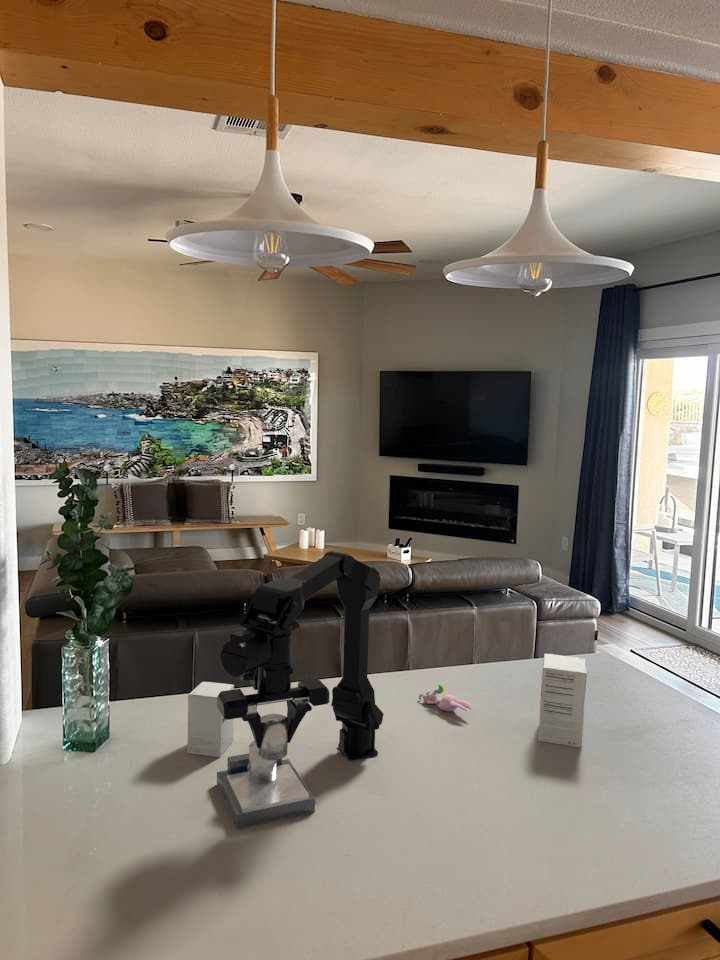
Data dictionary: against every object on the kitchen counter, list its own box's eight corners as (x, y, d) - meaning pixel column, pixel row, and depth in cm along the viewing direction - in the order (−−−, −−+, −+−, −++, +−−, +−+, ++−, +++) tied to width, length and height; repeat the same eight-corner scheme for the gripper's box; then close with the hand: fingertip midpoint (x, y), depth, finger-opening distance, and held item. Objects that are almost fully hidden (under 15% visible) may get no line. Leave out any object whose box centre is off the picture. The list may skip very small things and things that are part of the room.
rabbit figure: (414, 708, 174) (460, 720, 163) (412, 683, 174) (458, 694, 163) (432, 701, 178) (478, 713, 167) (430, 677, 178) (476, 687, 167)
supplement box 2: (539, 722, 165) (543, 652, 163) (581, 729, 163) (586, 657, 161) (537, 741, 156) (542, 666, 154) (582, 748, 153) (587, 672, 151)
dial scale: (288, 770, 140) (288, 746, 140) (314, 811, 127) (315, 785, 126) (216, 784, 135) (217, 758, 134) (236, 828, 121) (237, 800, 121)
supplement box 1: (220, 758, 144) (221, 698, 143) (186, 753, 146) (186, 693, 144) (234, 741, 152) (235, 684, 150) (201, 737, 153) (201, 680, 152)
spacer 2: (279, 780, 131) (280, 749, 130) (252, 786, 129) (253, 754, 128) (271, 767, 135) (272, 737, 134) (245, 772, 133) (246, 741, 132)
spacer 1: (291, 757, 124) (291, 724, 124) (263, 762, 122) (263, 728, 121) (282, 744, 129) (282, 712, 128) (255, 748, 127) (255, 716, 126)
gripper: (309, 637, 135) (307, 717, 136) (210, 649, 127) (209, 733, 129) (331, 658, 124) (329, 743, 126) (225, 671, 117) (224, 762, 119)
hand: (273, 744), depth 125 cm, fingers closed on spacer 1, 5 cm apart
